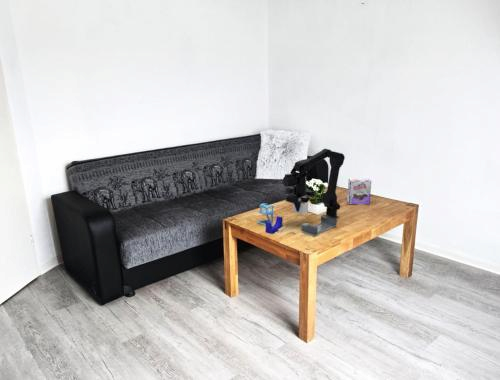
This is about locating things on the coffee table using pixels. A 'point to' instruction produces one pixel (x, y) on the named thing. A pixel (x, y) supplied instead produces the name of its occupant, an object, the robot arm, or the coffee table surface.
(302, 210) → the module
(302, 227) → the rail
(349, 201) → the candy box
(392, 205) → the coffee table surface
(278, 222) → the cable clip
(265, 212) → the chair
